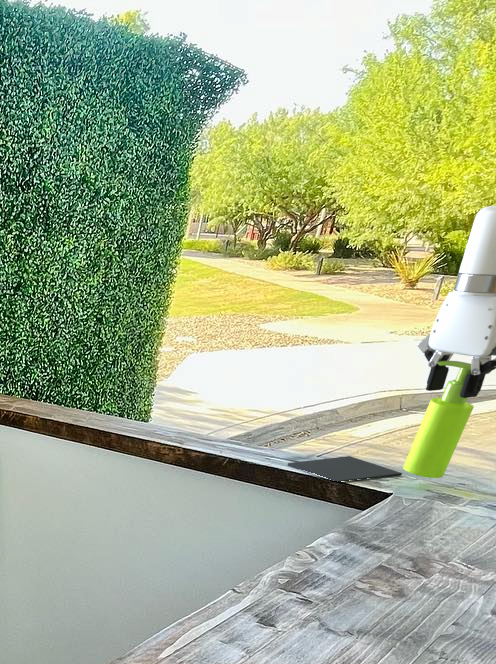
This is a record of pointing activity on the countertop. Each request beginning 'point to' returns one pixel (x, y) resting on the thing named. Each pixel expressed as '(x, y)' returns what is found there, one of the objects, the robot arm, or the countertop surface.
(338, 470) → the mat
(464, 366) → the soap dispenser
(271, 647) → the countertop surface
